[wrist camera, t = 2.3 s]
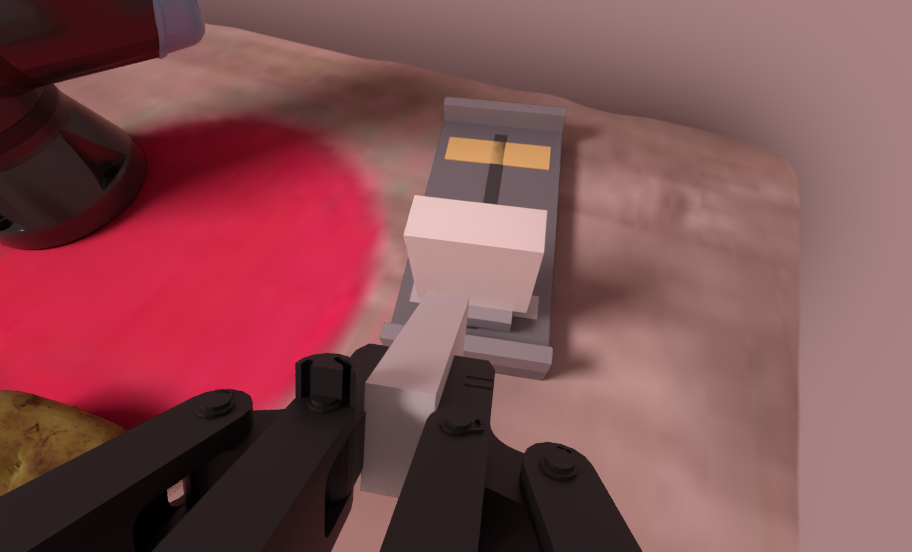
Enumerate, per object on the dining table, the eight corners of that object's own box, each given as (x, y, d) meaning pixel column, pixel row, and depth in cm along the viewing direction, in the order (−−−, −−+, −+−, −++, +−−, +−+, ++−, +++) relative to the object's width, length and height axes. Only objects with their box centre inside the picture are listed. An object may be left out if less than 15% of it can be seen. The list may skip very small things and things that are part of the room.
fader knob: (522, 333, 31) (542, 268, 23) (417, 318, 32) (399, 249, 24) (528, 275, 34) (548, 197, 25) (430, 262, 34) (418, 182, 26)
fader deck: (542, 380, 32) (551, 364, 28) (389, 356, 33) (379, 337, 30) (558, 139, 44) (566, 107, 41) (447, 128, 46) (445, 96, 42)
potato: (80, 575, 27) (-57, 596, 20) (-51, 482, 29) (-212, 472, 22) (174, 446, 30) (86, 425, 23) (49, 375, 33) (-63, 337, 26)
